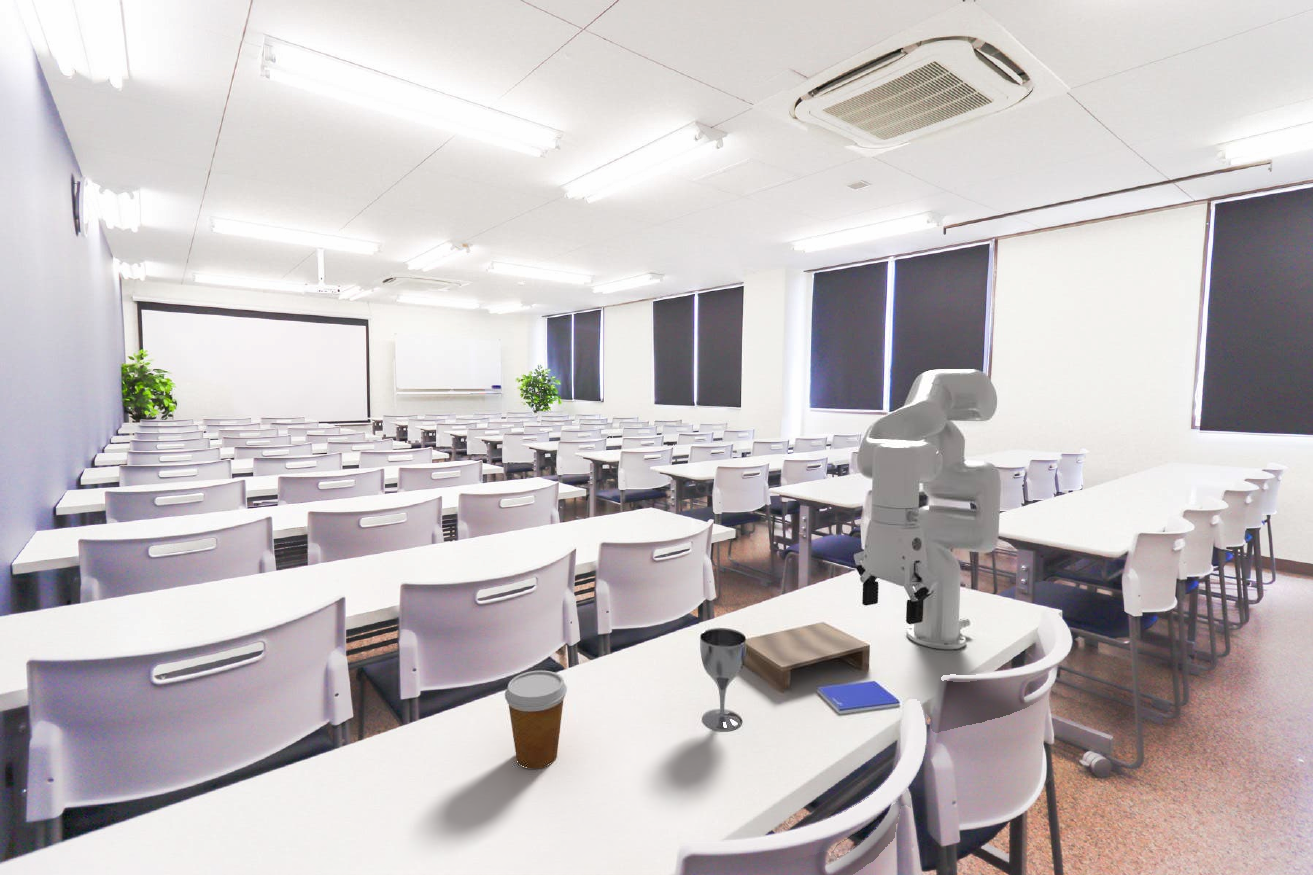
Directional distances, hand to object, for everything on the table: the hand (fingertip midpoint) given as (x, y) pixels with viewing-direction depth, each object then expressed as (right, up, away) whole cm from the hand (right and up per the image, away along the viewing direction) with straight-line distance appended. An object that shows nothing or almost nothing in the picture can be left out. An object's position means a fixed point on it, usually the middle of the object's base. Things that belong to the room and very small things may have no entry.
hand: (891, 612), depth 101 cm
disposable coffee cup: (-60, -20, -9) cm, 64 cm away
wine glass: (-29, -19, +1) cm, 35 cm away
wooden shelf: (-9, -18, +22) cm, 30 cm away
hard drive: (-3, -20, +9) cm, 22 cm away
